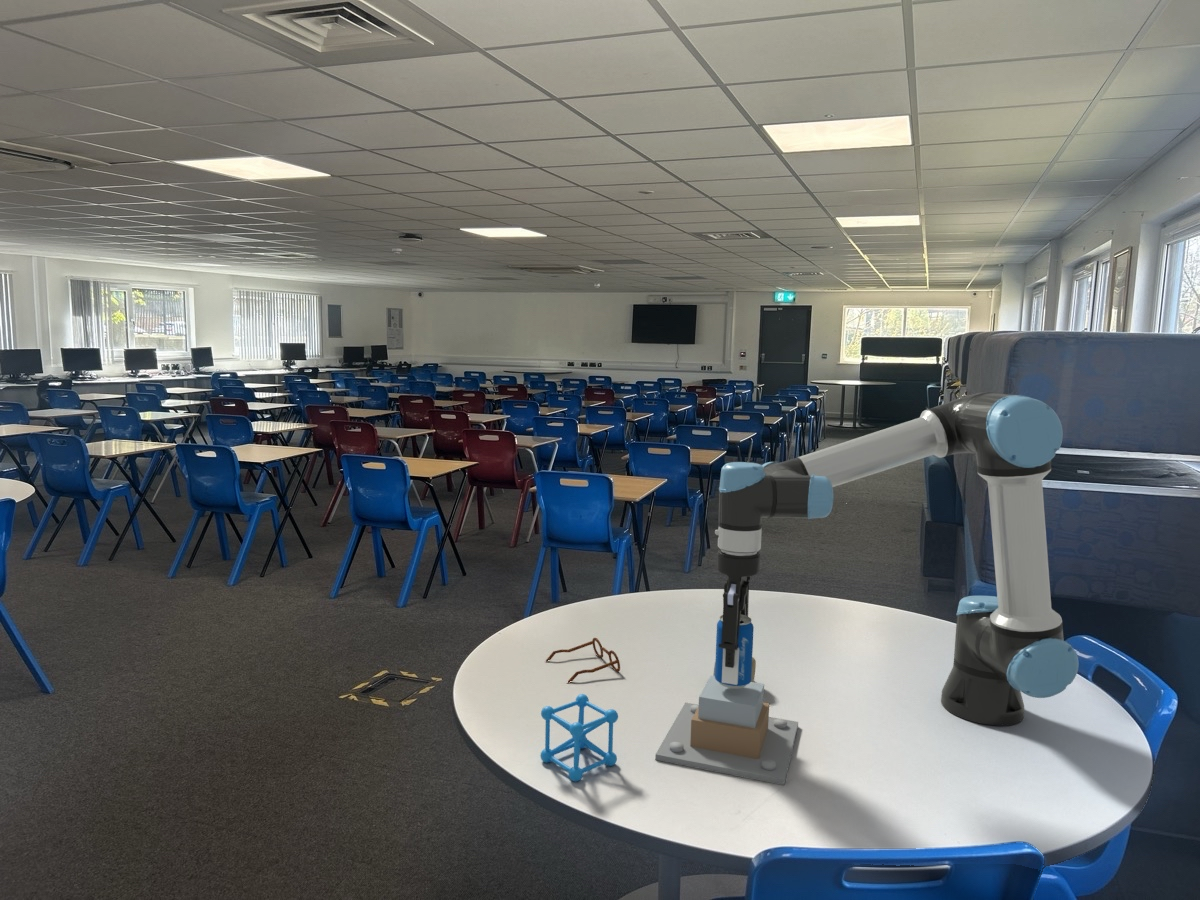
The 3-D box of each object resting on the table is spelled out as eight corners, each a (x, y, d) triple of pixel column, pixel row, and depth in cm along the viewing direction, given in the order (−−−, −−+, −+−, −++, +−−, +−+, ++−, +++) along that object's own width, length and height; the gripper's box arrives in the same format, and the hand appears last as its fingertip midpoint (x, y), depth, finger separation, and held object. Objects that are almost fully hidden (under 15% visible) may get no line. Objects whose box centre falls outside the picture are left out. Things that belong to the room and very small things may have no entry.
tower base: (797, 726, 152) (800, 676, 151) (784, 785, 132) (787, 727, 131) (685, 707, 160) (686, 659, 158) (655, 759, 139) (657, 705, 138)
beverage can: (723, 692, 140) (726, 626, 139) (709, 677, 147) (711, 613, 145) (757, 688, 142) (760, 623, 141) (741, 674, 148) (744, 611, 147)
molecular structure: (581, 743, 145) (583, 690, 143) (619, 765, 137) (621, 710, 136) (537, 761, 138) (538, 706, 137) (574, 785, 131) (575, 727, 129)
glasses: (621, 676, 175) (622, 654, 175) (566, 685, 170) (567, 663, 169) (595, 654, 187) (596, 634, 187) (543, 663, 181) (544, 642, 181)
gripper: (727, 536, 151) (722, 653, 154) (706, 561, 133) (701, 693, 136) (767, 540, 149) (762, 659, 152) (751, 566, 131) (745, 700, 134)
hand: (733, 675), depth 144 cm, fingers closed on beverage can, 6 cm apart
